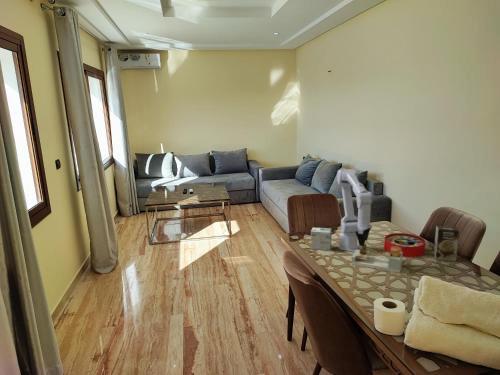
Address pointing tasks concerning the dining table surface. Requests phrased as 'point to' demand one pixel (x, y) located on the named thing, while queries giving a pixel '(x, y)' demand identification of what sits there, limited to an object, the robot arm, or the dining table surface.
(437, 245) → the coffee box
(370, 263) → the rail
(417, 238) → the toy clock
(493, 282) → the dining table surface
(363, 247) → the carriage
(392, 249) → the button
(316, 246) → the light bulb box
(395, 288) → the dining table surface
